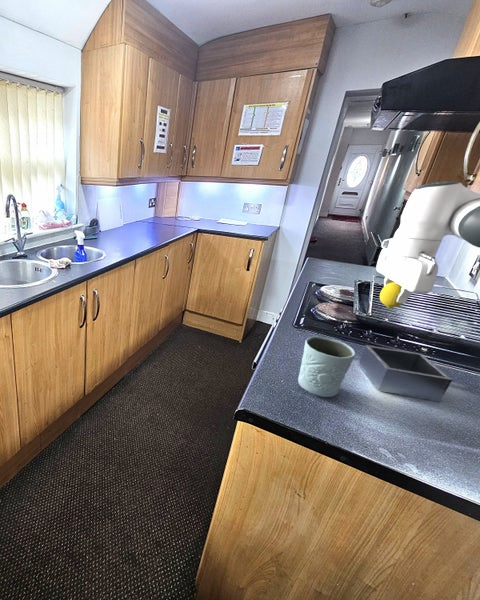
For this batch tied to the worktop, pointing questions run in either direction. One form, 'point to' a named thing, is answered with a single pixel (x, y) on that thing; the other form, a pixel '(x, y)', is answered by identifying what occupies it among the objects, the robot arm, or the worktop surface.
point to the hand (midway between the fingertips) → (393, 297)
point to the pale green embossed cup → (324, 365)
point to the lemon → (390, 295)
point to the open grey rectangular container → (403, 373)
